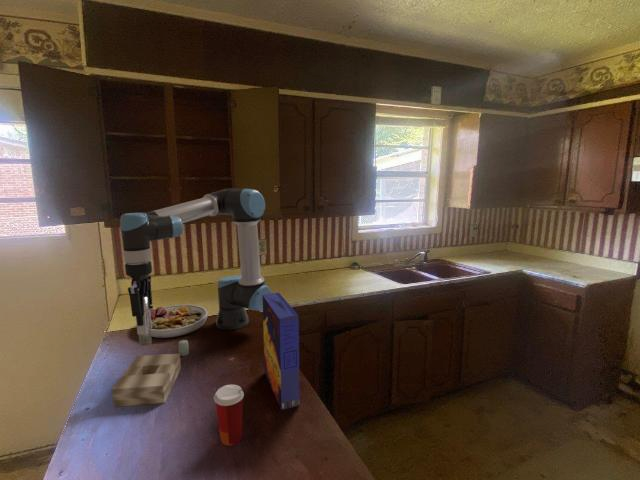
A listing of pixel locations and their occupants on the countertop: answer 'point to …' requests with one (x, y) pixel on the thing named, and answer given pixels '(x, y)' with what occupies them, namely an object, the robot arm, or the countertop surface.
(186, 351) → the grey-green rounded piece
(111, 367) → the countertop surface
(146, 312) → the long steel pin
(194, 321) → the bowl
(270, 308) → the cereal box
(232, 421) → the paper cup
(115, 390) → the hole block
